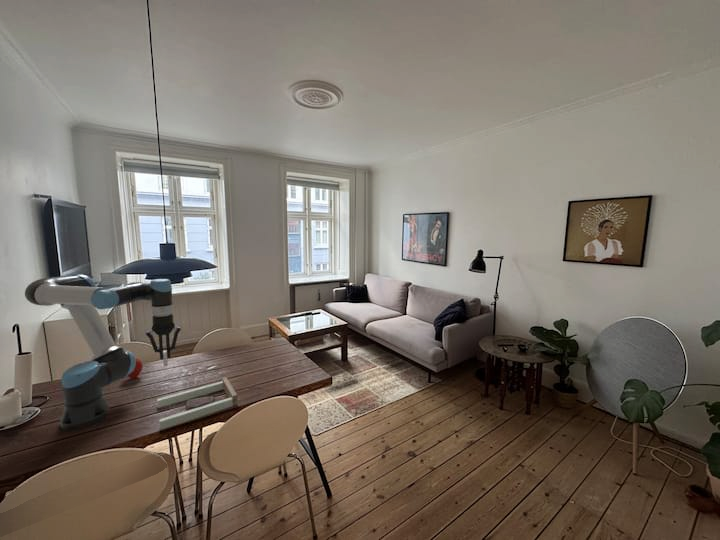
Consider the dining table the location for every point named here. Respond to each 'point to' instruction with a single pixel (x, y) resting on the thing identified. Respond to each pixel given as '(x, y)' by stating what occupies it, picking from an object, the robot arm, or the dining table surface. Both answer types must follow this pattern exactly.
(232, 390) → the grey u-shaped frame
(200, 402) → the stone
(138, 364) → the apple
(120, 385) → the dining table surface
